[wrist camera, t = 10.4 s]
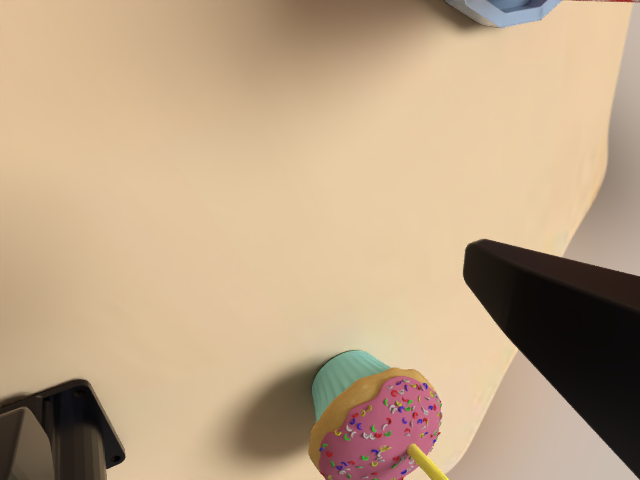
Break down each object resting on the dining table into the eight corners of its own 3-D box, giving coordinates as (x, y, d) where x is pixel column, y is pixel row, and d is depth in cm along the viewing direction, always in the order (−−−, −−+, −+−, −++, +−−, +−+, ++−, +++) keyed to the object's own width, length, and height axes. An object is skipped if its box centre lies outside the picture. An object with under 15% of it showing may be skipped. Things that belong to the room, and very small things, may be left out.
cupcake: (330, 314, 29) (459, 491, 19) (419, 339, 34) (555, 489, 24) (261, 420, 31) (348, 626, 21) (354, 429, 36) (457, 598, 26)
